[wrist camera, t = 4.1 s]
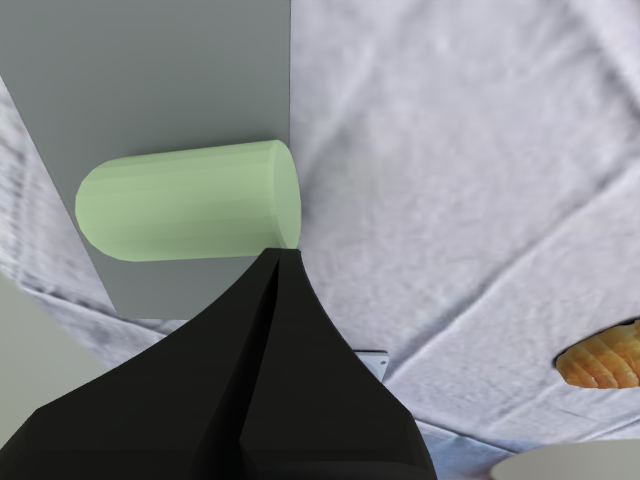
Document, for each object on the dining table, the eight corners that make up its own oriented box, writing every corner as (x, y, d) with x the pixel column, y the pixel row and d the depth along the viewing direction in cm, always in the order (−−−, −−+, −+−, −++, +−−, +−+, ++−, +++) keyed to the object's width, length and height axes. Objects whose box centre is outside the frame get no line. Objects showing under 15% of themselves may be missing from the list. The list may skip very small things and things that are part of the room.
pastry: (555, 377, 27) (589, 417, 23) (544, 345, 24) (581, 385, 21) (659, 343, 24) (714, 383, 21) (660, 303, 21) (723, 341, 18)
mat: (287, 317, 20) (287, 322, 20) (123, 313, 20) (119, 317, 19) (290, -18, 10) (290, -23, 10) (-50, -57, 9) (-68, -64, 9)
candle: (305, 230, 14) (177, 238, 15) (293, 138, 12) (147, 154, 13) (286, 275, 10) (106, 282, 11) (261, 140, 8) (45, 165, 9)
